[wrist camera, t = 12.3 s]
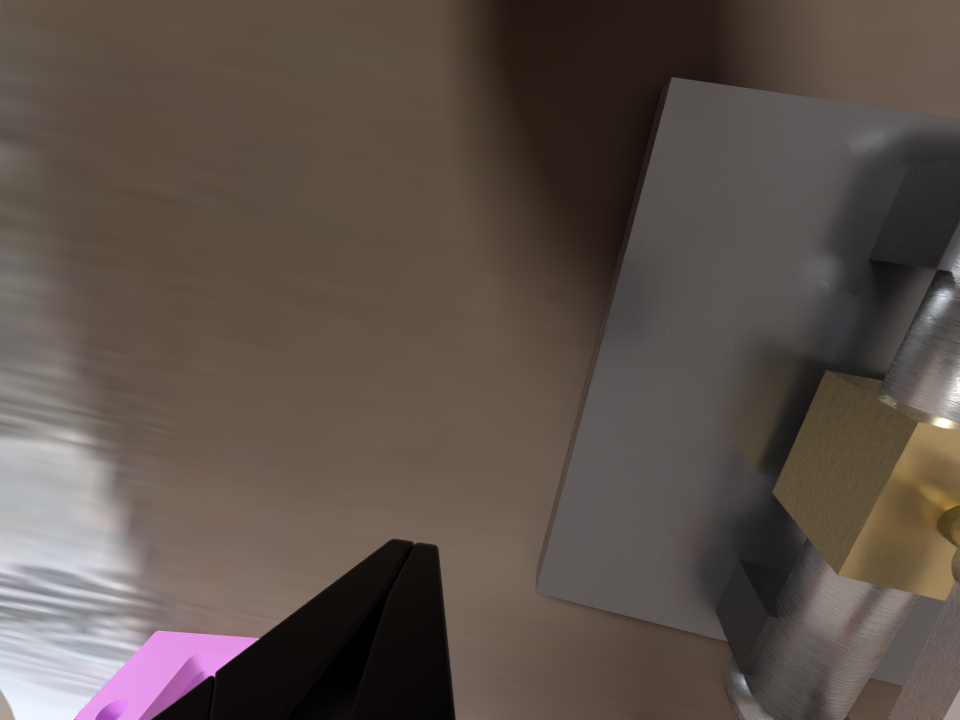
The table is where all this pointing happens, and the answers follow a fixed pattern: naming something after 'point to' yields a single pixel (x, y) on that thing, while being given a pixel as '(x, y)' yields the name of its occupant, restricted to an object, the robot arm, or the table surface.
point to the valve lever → (936, 666)
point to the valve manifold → (776, 396)
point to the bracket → (162, 674)
